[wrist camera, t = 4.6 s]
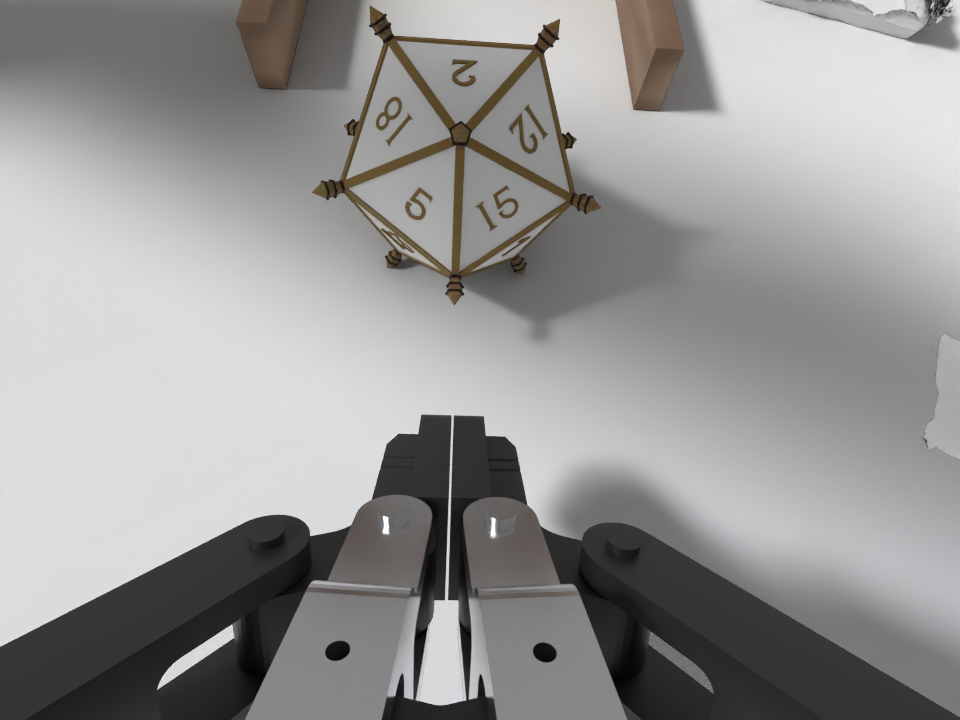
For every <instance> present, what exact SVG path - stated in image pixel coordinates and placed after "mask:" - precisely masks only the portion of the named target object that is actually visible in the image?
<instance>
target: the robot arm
mask: <svg viewBox="0 0 960 720" xmlns="http://www.w3.org/2000/svg"><path fill="white" fill-rule="evenodd" d="M450 442H451V415H421V421H420V428H419V434H398V435H397V436H396V437H395V438H393V439H392V440H391V441H390V442H389V443H388V444H387V446H386V449H385V453H384V459H383V460H382V464H381V469H380V471H379V475H378V479H377V483H376V486H375V490H374V494H373V497H372V500H371V501H369V502H367V503H366V504H364V505H363V506H362V507H361V508H360V509H359V510H358V512H357V514H356V516H355V518H354V520H353V523H352V525H351V526H349V527H347V528H345V529H342V530H339V531H335V532H331V533H326V534H320V535H315V536H310V531H309V528H308V526H307V525H306V524H305V523H304V522H303V521H302V520H300V519H298V518H295V517H292V516H287V515H269V516H263V517H259V518H255V519H252V520H250V521H247V522H245V523H243V524H241V525H239V526H237V527H235V528H233V529H231V530H229V531H227V532H225V533H223V534H221V535H219V536H217V537H215V538H213V539H211V540H210V541H208V542H206V543H204V544H202V545H200V546H198V547H196V548H194V549H192V550H190V551H188V552H186V553H184V554H182V555H180V556H178V557H176V558H174V559H172V560H170V561H168V562H166V563H164V564H162V565H160V566H158V567H156V568H154V569H153V570H151V571H149V572H147V573H145V574H143V575H141V576H139V577H137V578H135V579H133V580H131V581H129V582H127V583H125V584H123V585H121V586H119V587H117V588H115V589H113V590H111V591H109V592H107V593H105V594H103V595H101V596H99V597H97V598H96V599H94V600H92V601H90V602H88V603H86V604H84V605H82V606H80V607H78V608H76V609H74V610H72V611H70V612H68V613H66V614H64V615H62V616H60V617H58V618H56V619H54V620H52V621H50V622H48V623H46V624H44V625H42V626H40V627H39V628H37V629H35V630H33V631H31V632H29V633H27V634H25V635H23V636H21V637H19V638H17V639H15V640H13V641H11V642H9V643H7V644H5V645H3V646H1V647H0V720H960V717H958V716H956V715H955V714H953V713H951V712H950V711H948V710H946V709H944V708H943V707H941V706H939V705H938V704H936V703H934V702H933V701H931V700H929V699H927V698H926V697H924V696H922V695H921V694H919V693H917V692H916V691H914V690H912V689H911V688H909V687H907V686H905V685H904V684H902V683H900V682H899V681H897V680H895V679H894V678H892V677H890V676H889V675H887V674H885V673H883V672H882V671H880V670H878V669H877V668H875V667H873V666H872V665H870V664H868V663H866V662H865V661H863V660H861V659H860V658H858V657H856V656H855V655H853V654H851V653H850V652H848V651H846V650H844V649H843V648H841V647H839V646H838V645H836V644H834V643H833V642H831V641H829V640H828V639H826V638H824V637H822V636H821V635H819V634H817V633H816V632H814V631H812V630H811V629H809V628H807V627H805V626H804V625H802V624H800V623H799V622H797V621H795V620H794V619H792V618H790V617H789V616H787V615H785V614H783V613H782V612H780V611H778V610H777V609H775V608H773V607H772V606H770V605H768V604H767V603H765V602H763V601H761V600H760V599H758V598H756V597H755V596H753V595H751V594H750V593H748V592H746V591H744V590H743V589H741V588H739V587H738V586H736V585H734V584H733V583H731V582H729V581H728V580H726V579H724V578H722V577H721V576H719V575H717V574H716V573H714V572H712V571H711V570H709V569H707V568H706V567H704V566H702V565H700V564H699V563H697V562H695V561H694V560H692V559H690V558H689V557H687V556H685V555H683V554H682V553H680V552H678V551H677V550H675V549H673V548H672V547H670V546H668V545H667V544H665V543H663V542H661V541H660V540H658V539H656V538H655V537H653V536H651V535H650V534H648V533H646V532H644V531H642V530H641V529H638V528H636V527H633V526H630V525H626V524H621V523H601V524H598V525H595V526H592V527H591V528H589V529H588V530H587V531H586V532H585V533H584V535H583V539H582V541H580V540H576V539H572V538H568V537H564V536H560V535H557V534H554V533H552V532H550V531H548V530H546V529H544V528H543V527H541V526H540V524H539V521H538V518H537V516H536V514H535V512H534V511H533V510H532V509H531V508H530V507H529V506H527V501H526V496H525V491H524V486H523V481H522V476H521V472H520V466H519V462H518V456H517V451H516V447H515V446H514V445H513V444H512V443H511V442H510V441H509V440H508V439H507V438H506V437H496V436H486V435H485V425H484V416H454V431H453V459H452V488H451V521H450V555H449V590H448V600H459V615H458V647H459V659H460V671H461V682H462V694H463V701H461V702H457V703H453V704H449V705H443V706H438V705H432V704H428V703H424V702H420V701H419V698H420V692H421V686H422V680H423V673H424V667H425V661H426V655H427V648H428V642H429V634H430V622H431V620H432V618H433V613H434V600H445V580H446V553H447V527H448V500H449V471H450ZM231 624H233V631H234V639H232V640H231V641H229V642H228V643H226V644H225V645H223V646H222V647H220V648H219V649H217V650H216V651H214V652H213V653H211V654H210V655H208V656H207V657H205V658H204V659H203V660H201V661H200V662H198V663H197V664H195V665H194V666H192V667H191V668H189V669H188V670H186V671H185V672H183V673H182V674H180V675H179V676H177V677H176V678H174V679H173V680H171V681H170V682H169V683H167V684H166V685H164V686H163V687H161V688H160V689H158V690H157V687H158V684H159V682H160V680H161V678H162V676H163V675H164V673H165V672H166V671H167V669H168V668H169V667H170V666H171V665H172V664H173V663H174V662H176V661H177V660H178V659H180V658H181V657H182V656H184V655H185V654H187V653H189V652H190V651H192V650H193V649H195V648H196V647H198V646H199V645H201V644H202V643H204V642H205V641H207V640H208V639H210V638H212V637H213V636H215V635H216V634H218V633H219V632H221V631H222V630H224V629H225V628H227V627H228V626H230V625H231ZM650 631H651V632H653V633H654V634H655V635H657V636H658V637H660V638H661V639H662V640H664V641H665V642H666V643H668V644H669V645H670V646H672V647H673V648H674V649H676V650H677V651H679V652H680V653H681V654H683V655H684V656H685V657H687V658H688V659H689V660H691V661H692V662H693V663H695V664H696V665H697V666H698V667H699V668H700V669H701V670H702V671H703V672H704V673H705V674H706V676H707V677H708V679H709V680H710V682H711V684H712V687H713V690H714V694H713V693H711V692H710V691H709V690H708V689H706V688H705V687H704V686H702V685H701V684H700V683H698V682H697V681H696V680H694V679H693V678H692V677H690V676H689V675H688V674H686V673H685V672H684V671H683V670H681V669H680V668H679V667H677V666H676V665H675V664H673V663H672V662H671V661H669V660H668V659H667V658H665V657H664V656H663V655H661V654H660V653H659V652H657V651H656V650H655V649H654V648H652V647H651V646H650V645H648V641H649V636H650Z"/></svg>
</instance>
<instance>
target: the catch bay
mask: <svg viewBox="0 0 960 720" xmlns="http://www.w3.org/2000/svg"><path fill="white" fill-rule="evenodd" d="M307 1H308V0H243V1H242V4H241V8H240V11H239V14H238V17H237V20H236V23H237V26H238V29H239V31H240V34H241V37H242V40H243V43H244V46H245V49H246V52H247V54H248V57H249V60H250V63H251V66H252V69H253V72H254V74H255V77H256V80H257V83H258V86H259V88H276V89H286V87H287V83H288V79H289V75H290V71H291V67H292V62H293V58H294V54H295V50H296V46H297V42H298V38H299V34H300V30H301V26H302V21H303V17H304V13H305V9H306V5H307ZM616 6H617V12H618V18H619V24H620V30H621V36H622V42H623V48H624V55H625V61H626V67H627V73H628V79H629V85H630V91H631V97H632V104H633V109H639V110H657V111H659V108H660V106H661V104H662V101H663V99H664V97H665V94H666V92H667V89H668V87H669V85H670V82H671V80H672V77H673V75H674V73H675V70H676V68H677V66H678V63H679V61H680V58H681V56H682V54H683V51H684V47H683V43H682V39H681V35H680V30H679V26H678V22H677V18H676V14H675V9H674V5H673V1H672V0H616Z"/></svg>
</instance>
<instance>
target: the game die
mask: <svg viewBox="0 0 960 720" xmlns="http://www.w3.org/2000/svg"><path fill="white" fill-rule="evenodd" d="M386 16H387V15H386V14H383V13H381V12H379V11H378V10H376V9H375V8H373V7H371V6H370V25H369V26H370V27H372V28H373V29H374V31H375V32H376V33H374V34H375V35H378V36H379V37H380V38H381V39H382V40H383V43H384V44H383V47H382V50H381V53H380V57H379V60H378V63H377V66H376V69H375V72H374V76H373V79H372V82H371V85H370V88H369V91H368V94H367V98H366V101H365V104H364V107H363V110H362V113H361V117H360V120H359V121H358V122H356V121H355V120H354V119H353V120H351V121H350V122H349V123H348V124H346V125H344V126H345V128H346V130H347V132H348V135H353V136H354V139H353V142H352V145H351V148H350V151H349V155H348V158H347V161H346V164H345V167H344V170H343V174H342V177H341V180H340V181H338V182H336V181H334V180H329V181H328V182H325V181H321V184H320V185H319V186H318V187H317V188H316V189H315V190H314V191H313V192H312V193H314V194H317V195H319V196H322V197H324V198H326V199H327V200H329V198H331V197H334V198H336V197H337V195H339V194H340V193H345V194H346V195H347V197H348V198H349V199H350V200H351V201H352V202H353V203H354V204H355V205H356V207H357V208H358V209H359V210H360V211H361V212H362V213H363V214H364V216H365V217H366V218H367V219H368V220H369V221H370V222H371V223H372V224H373V226H374V227H375V228H376V229H377V230H378V231H379V232H380V233H381V234H382V236H383V237H384V238H385V239H386V240H387V241H388V242H389V243H390V245H391V246H392V247H393V248H394V250H393V251H389V252H388V253H389V255H387V256H385V258H386V260H387V268H388V267H392V266H398V262H400V261H401V255H402V254H403V255H405V256H407V257H409V258H411V259H413V260H415V261H417V262H419V263H421V264H423V265H425V266H427V267H429V268H431V269H433V270H435V271H437V272H439V273H441V274H443V275H445V276H447V277H450V281H449V283H448V284H447V285H446V287H447V288H448V289H447V292H446V293H445V294H446V295H448V296H449V298H450V300H451V301H452V303H453V304H454V305H455V304H456V302H457V301H458V300H459V298H460V297H461V296H463V295H464V293H463V292H462V288H464V286H463V285H462V283H461V278H462V277H465V276H468V275H470V274H473V273H476V272H478V271H481V270H484V269H487V268H489V267H492V266H495V265H498V264H500V263H503V262H506V261H508V260H511V266H512V267H514V272H519V273H522V274H524V272H525V266H526V265H527V263H526V262H524V261H523V260H524V258H522V257H520V256H519V254H520V253H521V252H522V251H523V250H524V249H525V248H526V247H527V246H528V245H529V244H530V243H531V242H532V241H534V240H535V239H536V238H537V237H538V236H539V235H540V234H541V233H542V232H543V231H544V230H545V229H546V228H547V227H548V226H549V225H550V224H551V223H552V222H553V221H555V220H556V219H557V218H558V217H559V216H560V215H561V214H562V213H563V212H564V211H565V210H566V209H567V208H568V207H569V206H570V205H573V206H575V207H576V208H577V210H578V211H580V210H582V211H584V213H585V214H587V212H590V211H593V210H596V209H600V208H601V207H600V206H599V205H598V204H597V202H596V201H595V200H594V198H593V196H592V195H591V196H586V194H581V195H577V194H576V193H575V191H574V186H573V182H572V177H571V173H570V168H569V164H568V160H567V155H566V151H565V149H567V148H572V146H573V144H574V143H575V141H576V140H577V139H576V138H574V137H573V136H571V134H570V133H569V132H567V134H565V135H564V134H562V133H561V128H560V124H559V119H558V115H557V111H556V106H555V102H554V97H553V93H552V88H551V84H550V79H549V75H548V70H547V66H546V62H545V57H544V53H545V51H546V50H547V49H548V48H550V47H553V45H552V44H553V43H554V42H555V41H556V40H559V38H558V32H559V24H560V19H559V20H557V21H554V22H552V23H550V24H548V25H546V26H545V25H543V28H544V29H543V30H542V32H541V33H539V34H538V36H539V37H538V40H537V43H536V44H535V45H525V44H510V43H495V42H480V41H466V40H450V39H435V38H420V37H405V36H394V35H393V34H392V31H391V27H390V26H391V23H388V21H387V19H386Z"/></svg>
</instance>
